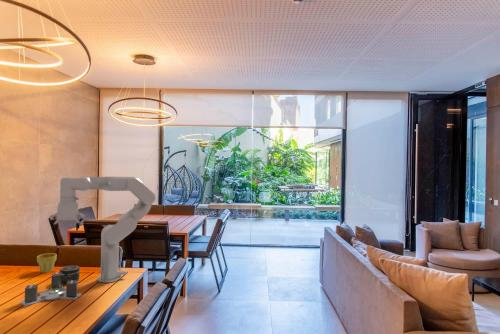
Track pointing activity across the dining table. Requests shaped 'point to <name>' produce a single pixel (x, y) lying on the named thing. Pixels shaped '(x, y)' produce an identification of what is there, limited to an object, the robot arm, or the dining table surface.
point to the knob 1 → (31, 293)
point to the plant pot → (46, 262)
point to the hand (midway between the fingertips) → (67, 230)
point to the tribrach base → (51, 295)
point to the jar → (69, 273)
